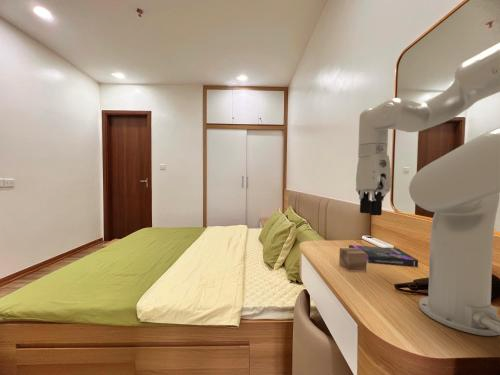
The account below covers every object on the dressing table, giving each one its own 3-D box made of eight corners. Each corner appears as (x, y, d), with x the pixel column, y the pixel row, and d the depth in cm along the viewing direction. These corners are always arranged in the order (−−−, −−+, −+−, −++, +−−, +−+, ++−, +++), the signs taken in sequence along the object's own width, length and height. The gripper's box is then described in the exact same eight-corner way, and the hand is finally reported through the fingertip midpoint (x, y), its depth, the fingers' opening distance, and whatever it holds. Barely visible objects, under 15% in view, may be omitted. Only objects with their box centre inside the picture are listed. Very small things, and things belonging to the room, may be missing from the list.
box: (358, 264, 80) (418, 269, 77) (358, 255, 80) (419, 258, 77) (348, 253, 94) (399, 256, 91) (348, 244, 94) (399, 247, 91)
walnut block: (366, 271, 71) (366, 253, 71) (348, 271, 71) (349, 253, 71) (355, 265, 77) (356, 248, 77) (339, 265, 77) (339, 247, 77)
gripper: (406, 147, 57) (404, 218, 57) (367, 156, 74) (365, 211, 74) (379, 146, 57) (376, 217, 57) (345, 155, 73) (343, 210, 74)
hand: (370, 213), depth 66 cm, fingers open, 4 cm apart
